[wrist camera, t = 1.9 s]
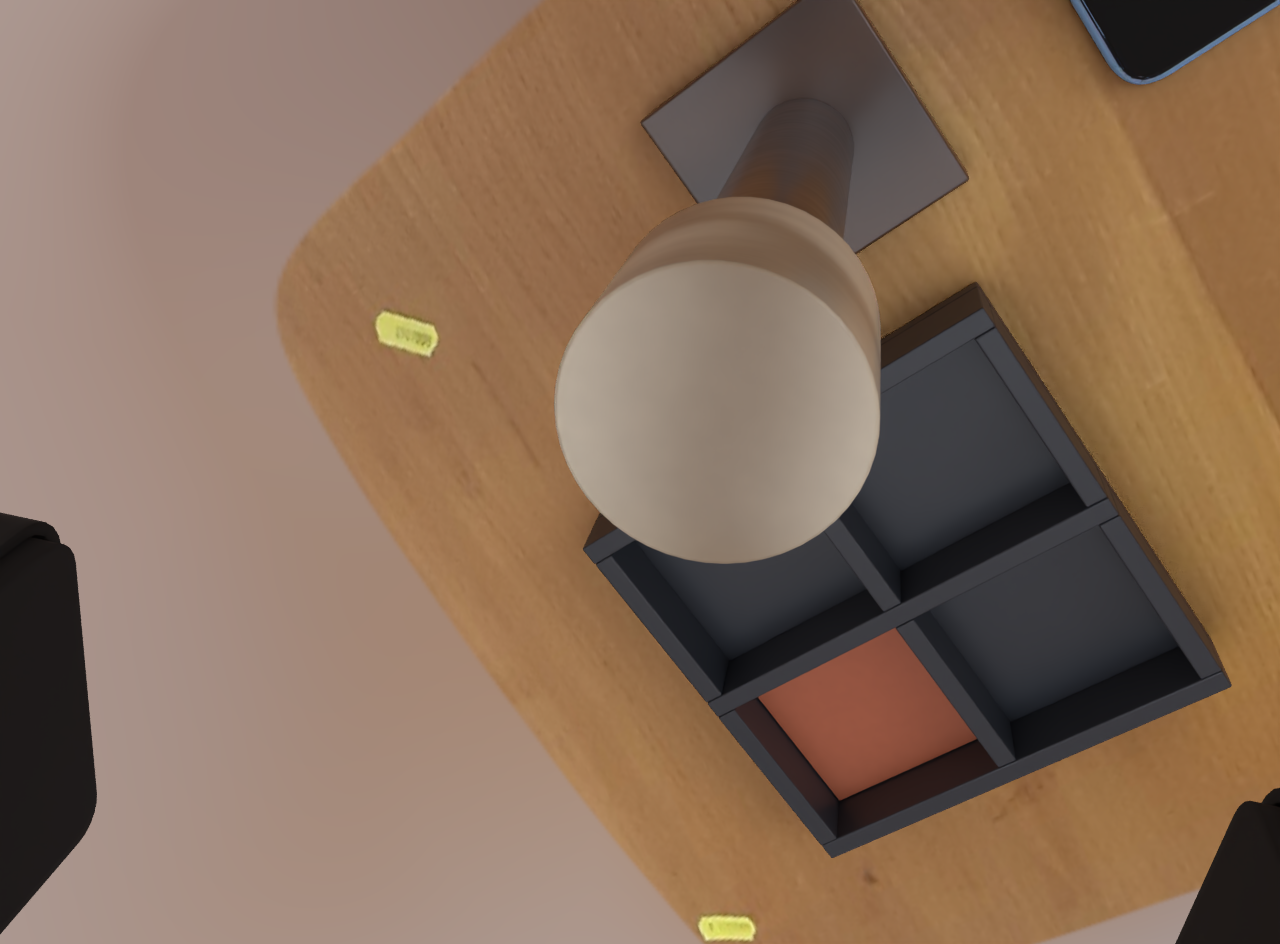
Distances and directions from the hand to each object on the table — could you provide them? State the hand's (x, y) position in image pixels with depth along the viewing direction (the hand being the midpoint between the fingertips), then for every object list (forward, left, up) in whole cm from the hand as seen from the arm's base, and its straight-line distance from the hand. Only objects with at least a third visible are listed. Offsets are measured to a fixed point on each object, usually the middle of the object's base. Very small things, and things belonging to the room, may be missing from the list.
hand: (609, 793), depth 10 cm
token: (0, 0, -12) cm, 12 cm away
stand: (0, 0, -30) cm, 30 cm away
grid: (+6, -14, -30) cm, 34 cm away
